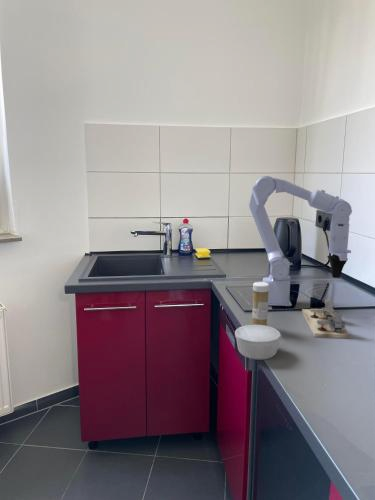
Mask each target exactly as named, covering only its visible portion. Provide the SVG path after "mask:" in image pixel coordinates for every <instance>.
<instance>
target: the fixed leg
mask: <svg viewBox="0 0 375 500" xmlns="http://www.w3.org/2000/svg"><path fill="white" fill-rule="evenodd" d="M342 317H343V311H341V310H335V309H334V314H333V320H330V321H321V320H317V324H321V329H323V325H329V328H330V329H331V331H335V328H340V329H341V331H344V330H346V329H345V326H346V323H345V322H344V320H343V319H342Z"/></svg>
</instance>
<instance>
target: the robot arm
mask: <svg viewBox="0 0 375 500" xmlns="http://www.w3.org/2000/svg"><path fill="white" fill-rule="evenodd" d="M273 193H275V194H279V193H286V194H290V195H291V196H294V197H297V198H300V199H303V200H305V201H307V202H308V205H309V207H311V208H314V209H317V210H318V211H320V212H323V213H325V214H332V215H331V222H330V228H329V229H330V230H329V239H328V241H329V243H328V250H327V253H329V254H332V255H327V256H326V257H327V259H328V261H329V265H330V271H331V277H332V278H333V279H340V277H341V275H342V272H343V269H344V268H345V267H344V266H345V265H346V263H347V262H348V254H351V253H352V251H351V249H348V247H349V246H348V244H349V233H350V216H351V214H352V212H353V210H352V206H351V204H350V203H349V202H348V201H346V200H344V199H342V198H340V196H338V195H336V196H333V195H332V194H329V193H327V192H326V190H324V189H321V190H319V189H316V190H313V191H310V190H309V189H306V188H303V187H301V186H299V185H297V184H295V183H292V182H290V181H288V180H286V179H281V178H277V177H272V176H270V175H264V176H260V177H259V178H258V179H256V181H255V183H254V184H253V186H252V189H251V195H250V199H249V203H248V206H249V209H250V210H249V211H250V212H251V215H252V218H253V220H254V224H255V226H256V227H257V231H258V233H259V235H260V238H261V241H262V243H263V246H264V248H265V252H266V254H267V259H268V263H269V266H270V267H269V273H270V274H269V275H268V277H267V276H266V277H263V278H262V282H265V283H268V284H269V292H268V306H278V307H279V306H280V307H281V306H283V307H291V306H292V302H291V300H290V295H291V294H290V293H291V292H290V291H291V276H290V275H289V274H290V268H291V267H290V266H291V263H290V261H289V260H288V258H287V257H285V254H284V252H283V251H282V249H281V247H280V244H279V242H278V238H277V236H276V233H275V231H274V229H273V225H272V224H271V221H270V217H269V215H268V213H267V211H266V207H265V205H266V203H267V201H268V199H269V197H270V196H271V195H272V194H273Z"/></svg>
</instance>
